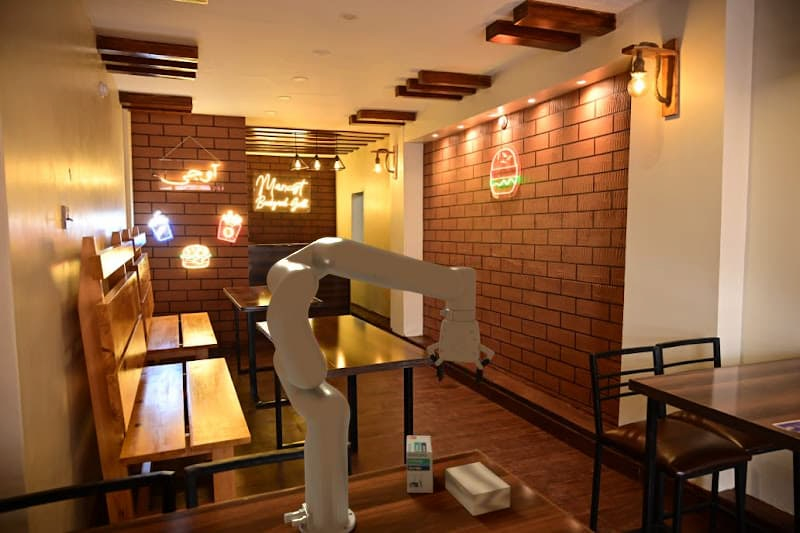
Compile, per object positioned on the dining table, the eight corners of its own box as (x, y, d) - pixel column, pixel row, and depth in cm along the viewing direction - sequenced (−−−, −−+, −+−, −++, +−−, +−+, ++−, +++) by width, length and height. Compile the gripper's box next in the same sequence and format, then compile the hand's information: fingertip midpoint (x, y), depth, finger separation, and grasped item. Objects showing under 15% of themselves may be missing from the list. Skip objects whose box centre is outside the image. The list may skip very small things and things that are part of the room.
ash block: (473, 515, 121) (473, 495, 120) (445, 487, 134) (445, 468, 133) (509, 506, 124) (510, 486, 124) (479, 480, 137) (479, 461, 137)
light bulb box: (433, 493, 131) (433, 452, 130) (406, 493, 131) (406, 452, 130) (431, 473, 142) (431, 434, 141) (406, 473, 142) (406, 434, 141)
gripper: (423, 316, 131) (423, 382, 132) (492, 320, 126) (491, 389, 127) (430, 311, 138) (430, 374, 139) (496, 315, 133) (495, 380, 134)
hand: (459, 381), depth 133 cm, fingers open, 9 cm apart
